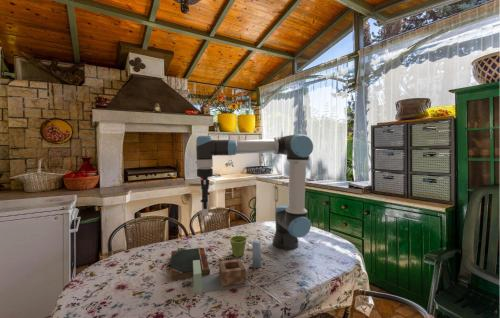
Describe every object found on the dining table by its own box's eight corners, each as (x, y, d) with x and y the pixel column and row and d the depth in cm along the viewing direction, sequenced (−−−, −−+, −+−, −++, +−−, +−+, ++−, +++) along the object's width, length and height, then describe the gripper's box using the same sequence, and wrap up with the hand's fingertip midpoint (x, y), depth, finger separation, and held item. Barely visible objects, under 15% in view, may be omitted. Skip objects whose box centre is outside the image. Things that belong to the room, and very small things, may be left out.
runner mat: (241, 270, 118) (241, 270, 118) (248, 285, 105) (248, 285, 105) (199, 276, 113) (199, 275, 113) (201, 293, 100) (201, 292, 100)
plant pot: (244, 259, 130) (244, 242, 129) (227, 257, 132) (227, 241, 131) (248, 251, 139) (248, 236, 138) (232, 250, 141) (232, 235, 140)
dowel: (259, 263, 125) (259, 240, 124) (261, 267, 121) (261, 243, 120) (251, 264, 124) (251, 241, 123) (253, 268, 120) (253, 244, 119)
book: (171, 257, 133) (170, 282, 109) (171, 250, 133) (169, 274, 109) (204, 253, 138) (210, 276, 114) (204, 247, 138) (209, 268, 114)
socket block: (240, 271, 116) (240, 258, 116) (245, 282, 106) (245, 269, 106) (219, 274, 114) (218, 261, 113) (222, 286, 104) (222, 272, 104)
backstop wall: (200, 277, 112) (199, 259, 112) (201, 292, 101) (201, 273, 100) (193, 278, 112) (192, 260, 111) (194, 293, 100) (193, 274, 100)
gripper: (198, 166, 132) (198, 205, 133) (195, 171, 107) (196, 219, 108) (212, 165, 133) (213, 205, 134) (212, 170, 108) (213, 218, 109)
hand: (205, 211), depth 121 cm, fingers open, 13 cm apart
